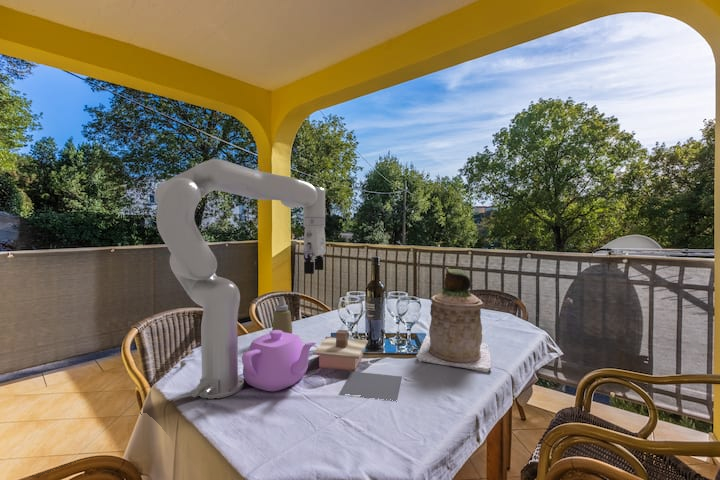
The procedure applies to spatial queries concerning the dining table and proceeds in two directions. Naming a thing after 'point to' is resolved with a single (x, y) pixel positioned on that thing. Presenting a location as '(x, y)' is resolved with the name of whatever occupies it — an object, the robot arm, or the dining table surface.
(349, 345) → the lid
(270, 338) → the teapot
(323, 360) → the dish
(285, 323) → the squeeze bottle
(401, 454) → the dining table surface
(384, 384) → the mat
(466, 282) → the cookie jar
